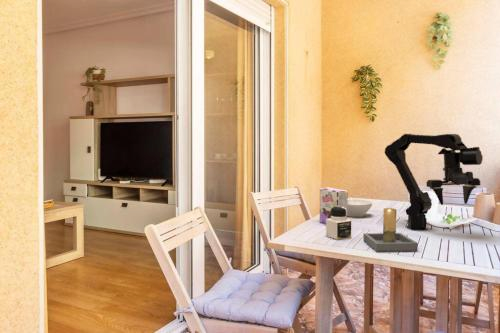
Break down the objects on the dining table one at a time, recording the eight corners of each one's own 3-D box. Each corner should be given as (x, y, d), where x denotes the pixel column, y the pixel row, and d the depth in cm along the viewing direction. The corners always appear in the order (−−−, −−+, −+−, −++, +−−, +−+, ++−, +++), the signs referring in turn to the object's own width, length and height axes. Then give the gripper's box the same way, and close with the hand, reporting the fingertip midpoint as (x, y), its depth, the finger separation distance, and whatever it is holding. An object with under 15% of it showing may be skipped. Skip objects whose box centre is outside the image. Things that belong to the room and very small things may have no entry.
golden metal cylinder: (381, 244, 142) (381, 209, 141) (385, 242, 145) (386, 207, 144) (393, 246, 139) (394, 210, 138) (397, 244, 142) (398, 209, 141)
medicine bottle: (337, 240, 151) (337, 209, 150) (325, 236, 157) (325, 206, 156) (351, 237, 154) (351, 207, 153) (339, 234, 160) (339, 205, 160)
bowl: (376, 218, 189) (376, 204, 188) (343, 219, 189) (343, 204, 189) (367, 212, 205) (367, 199, 204) (336, 212, 205) (336, 199, 205)
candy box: (319, 222, 183) (319, 187, 182) (329, 221, 185) (329, 186, 184) (336, 228, 170) (337, 191, 169) (347, 227, 173) (348, 190, 171)
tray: (376, 252, 135) (376, 243, 134) (363, 241, 149) (363, 233, 149) (417, 251, 135) (417, 243, 135) (400, 240, 149) (400, 232, 149)
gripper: (436, 167, 148) (438, 208, 148) (487, 164, 147) (489, 205, 147) (425, 166, 159) (426, 204, 159) (472, 163, 158) (473, 202, 158)
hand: (453, 204), depth 156 cm, fingers open, 9 cm apart
